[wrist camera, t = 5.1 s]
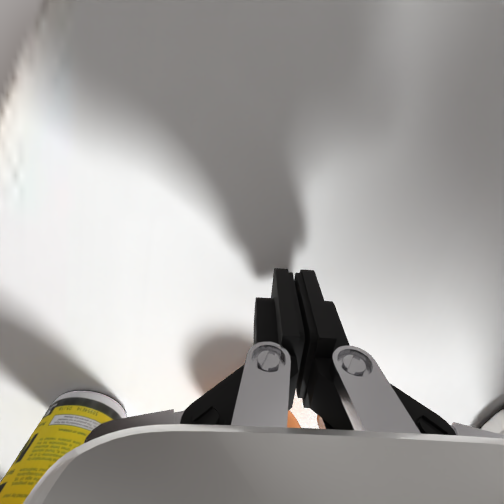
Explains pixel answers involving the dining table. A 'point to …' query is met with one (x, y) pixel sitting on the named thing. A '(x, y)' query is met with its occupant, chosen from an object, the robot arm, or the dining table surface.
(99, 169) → the dining table surface
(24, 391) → the dining table surface
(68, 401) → the supplement bottle
